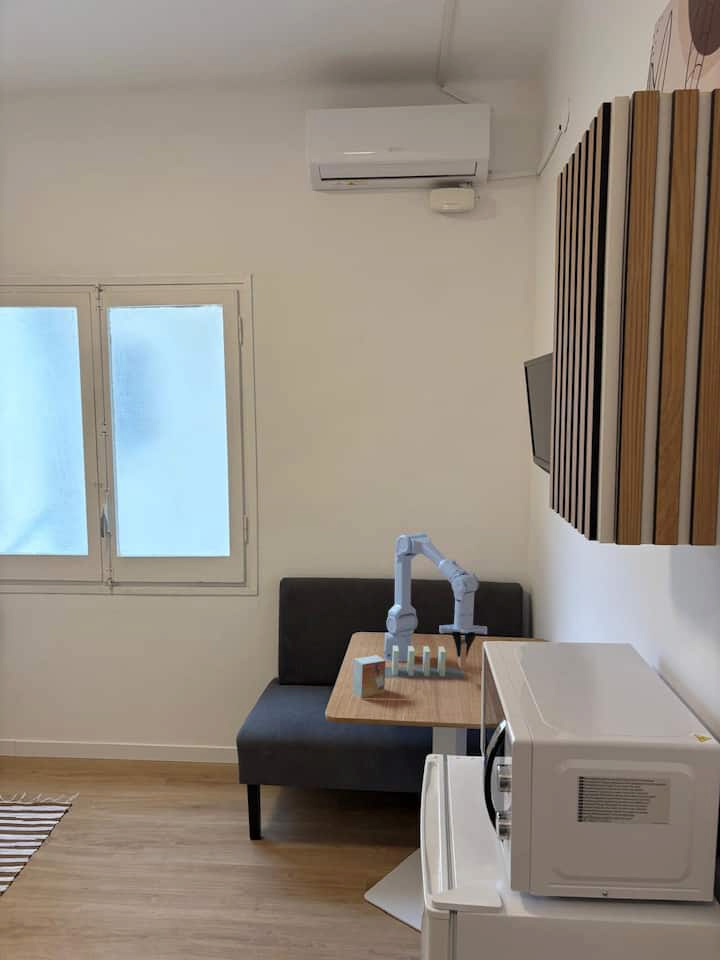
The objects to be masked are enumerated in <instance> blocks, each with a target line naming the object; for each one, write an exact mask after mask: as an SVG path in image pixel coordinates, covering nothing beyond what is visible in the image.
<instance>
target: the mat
mask: <svg viewBox="0 0 720 960" xmlns="http://www.w3.org/2000/svg"><path fill="white" fill-rule="evenodd" d="M389 678H390V679H428V680H429V679H434V680H443V679H444V680H466V677H465V675H464V673H463V669H460V667H459V668H454V667H453V668H452V667H450V668H448V667H447V668H446V667H445V676H440V675H439V672H438V667H430V671H429V676H424V673H423V667H414V676H409V675H408V671H407V666H405V667H404V666H400V667H399V666H398V675H393V672H392V666H385V679H389Z"/></svg>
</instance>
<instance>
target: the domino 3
mask: <svg viewBox="0 0 720 960" xmlns="http://www.w3.org/2000/svg"><path fill="white" fill-rule="evenodd" d="M430 664H431V650H430V647H429V645H425V646H424V645H423V649H422V668H423V673H424V676H429V671H430V668H431V667H430V666H431V665H430Z"/></svg>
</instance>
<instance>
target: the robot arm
mask: <svg viewBox="0 0 720 960" xmlns="http://www.w3.org/2000/svg"><path fill="white" fill-rule="evenodd" d="M420 554H421V555H423V556H424V557H426V558H427V559H429V560H430V561H431V562H432V563H433V564H434V565H436V566H437V567H438V572H439V573H440V574H441V575H442V576H443V577H444V579H446V580H447V581H448V582H449V583H450V584H451V589H452V591H453V596H454V601H455V602H454V620H453V621H454V622H453V624H445V625H441V624H440V625H439V634H445V633H446V634H451V636H452V638H453V641H454V644H455V648H456V655H457V658H458V657H460V652H461V650H460V646H461V638H462V636H461V635H462V634H464V639H465V641H466V643H467V648H466V658H467V657H468V655H469V650H470V648H471V646H472V644H473V643H474V641H475V639H476V634H483V635H488V627H487V626H486V625H485V626H484V625H483V626H482V625H474V608H475V592H476V591H477V590H478V589H479V586H480V583H479V579H478V576H476V574H475V573H473V572H467V571H466V570H465V569H464V568H462V567H461V566H460V565H459V564H458V563H457V561H456V560H455V559H454V558H453V559H452V558H446V557H445V556H444V554H442V553H441V551H440V550H439V549H438V548H437V547H436V546H435V545H434V544H433V543H432V538H431V537H430V536H428V534H426V533H424V532H419V533H413V534H402V535H400V536H399V537H398V538H397V539H395V553H394V605H393V606H392V607H391V608H390V609H389V610H388V612H387V613H388V614H387V619H386V629H387V631H388V632H384V648H383V655H384V660H385V662H392V653H393V646H398V649H399V662H402V663H403V662H406V663H408V646H413V645H412V643H413V634H414V632H415V630H416V629H417V626H418V623H419V622H418V621H419V620H418V617H417V610H416V608H414V607H413V606H412V605H411V604H412V601H411V600H412V599H411V598H412V596H411V595H412V560H413V559H414V558H415V557H416V556H418V555H420Z"/></svg>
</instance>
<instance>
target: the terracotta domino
mask: <svg viewBox="0 0 720 960" xmlns="http://www.w3.org/2000/svg"><path fill="white" fill-rule="evenodd" d="M466 648H467V643H466V641H465V637H464V638H462V637H461V646H460V650H461V652H460V657H458V656H457V664H458V666H459V668H460V669H461V670H466V667H467V662H466V661H467V657H466Z"/></svg>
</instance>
